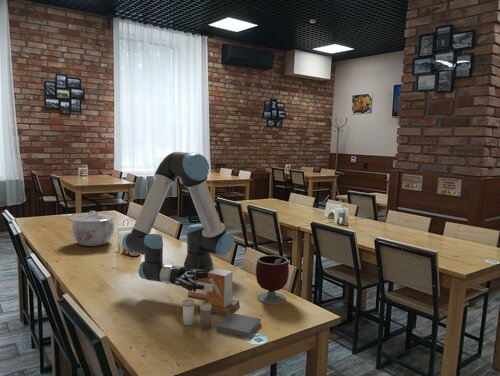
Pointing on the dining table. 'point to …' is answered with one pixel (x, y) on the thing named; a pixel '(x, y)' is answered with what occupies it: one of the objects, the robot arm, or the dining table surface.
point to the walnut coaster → (226, 310)
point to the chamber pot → (92, 228)
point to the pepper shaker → (205, 316)
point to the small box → (220, 287)
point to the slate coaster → (239, 325)
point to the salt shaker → (188, 312)
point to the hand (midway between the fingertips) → (220, 282)
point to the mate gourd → (272, 278)
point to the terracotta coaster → (198, 293)
